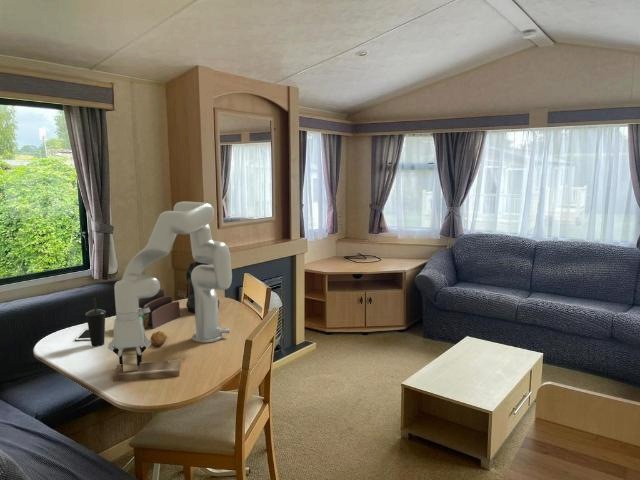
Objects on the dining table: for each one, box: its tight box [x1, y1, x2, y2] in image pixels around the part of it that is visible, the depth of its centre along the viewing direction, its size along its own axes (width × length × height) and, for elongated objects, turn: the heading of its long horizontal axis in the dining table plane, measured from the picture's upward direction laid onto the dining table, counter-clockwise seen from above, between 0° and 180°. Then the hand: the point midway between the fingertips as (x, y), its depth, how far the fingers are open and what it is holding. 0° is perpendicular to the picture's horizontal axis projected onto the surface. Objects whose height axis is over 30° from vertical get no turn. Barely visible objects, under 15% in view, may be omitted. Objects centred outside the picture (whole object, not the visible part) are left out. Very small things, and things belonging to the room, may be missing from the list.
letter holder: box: [139, 288, 181, 330], centre depth 235 cm, size 10×20×14 cm, turn 158°
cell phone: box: [74, 328, 91, 342], centre depth 217 cm, size 8×15×1 cm, turn 7°
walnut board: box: [112, 359, 181, 383], centre depth 178 cm, size 22×10×2 cm, turn 103°
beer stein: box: [185, 261, 221, 315], centre depth 253 cm, size 16×19×25 cm
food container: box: [139, 307, 150, 330], centre depth 224 cm, size 12×6×10 cm, turn 68°
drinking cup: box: [84, 296, 107, 348], centre depth 204 cm, size 8×8×20 cm
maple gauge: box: [122, 347, 138, 372], centre depth 176 cm, size 5×5×7 cm
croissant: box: [149, 330, 168, 348], centre depth 208 cm, size 14×7×5 cm, turn 15°
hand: (130, 364), depth 176 cm, fingers closed on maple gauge, 4 cm apart
